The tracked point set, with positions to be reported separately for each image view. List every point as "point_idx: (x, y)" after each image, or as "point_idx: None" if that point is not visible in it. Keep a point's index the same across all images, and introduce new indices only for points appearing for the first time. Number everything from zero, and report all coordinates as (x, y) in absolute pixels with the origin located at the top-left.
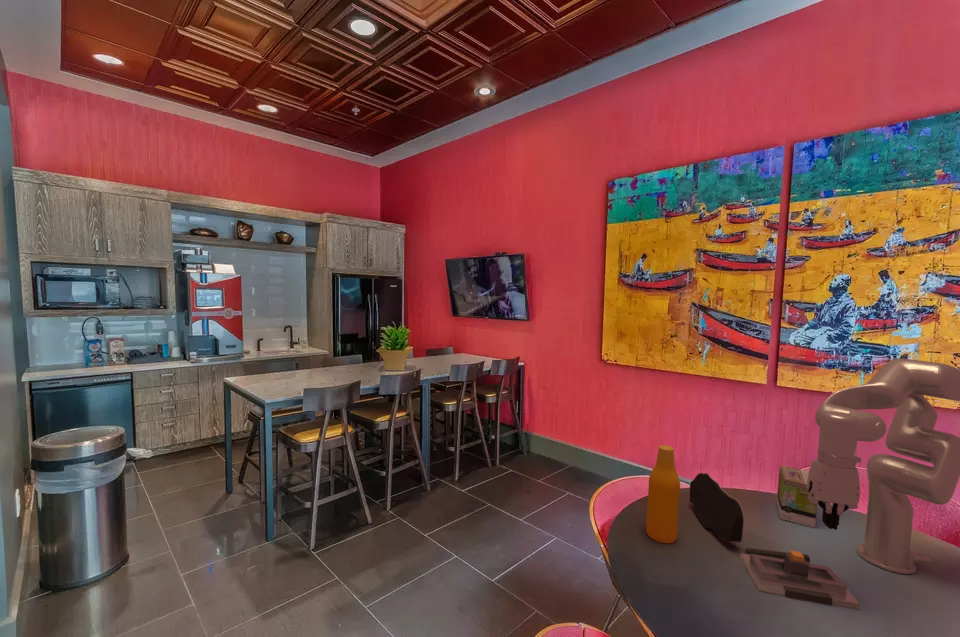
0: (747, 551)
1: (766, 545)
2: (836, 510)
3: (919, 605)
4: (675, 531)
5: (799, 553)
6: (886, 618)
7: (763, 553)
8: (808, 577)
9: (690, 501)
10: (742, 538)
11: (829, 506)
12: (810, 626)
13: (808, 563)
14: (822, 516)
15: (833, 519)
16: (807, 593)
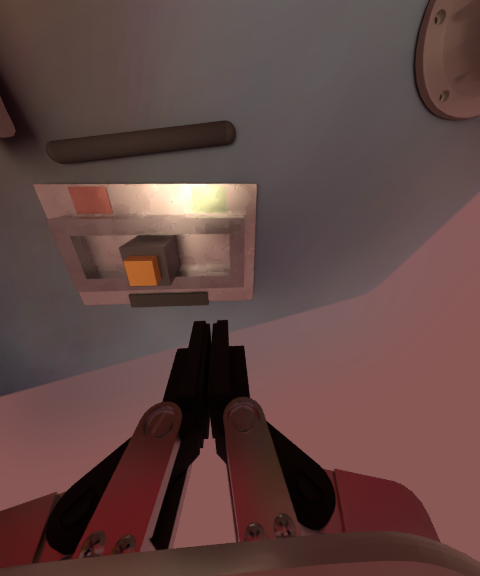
0: (52, 159)
1: (121, 58)
2: (227, 471)
3: (374, 247)
4: None
5: (148, 269)
6: (283, 301)
7: (97, 158)
8: (175, 280)
9: None
10: (1, 137)
11: (164, 526)
12: (158, 349)
13: (195, 218)
14: (173, 364)
15: (209, 412)
16: (168, 304)
